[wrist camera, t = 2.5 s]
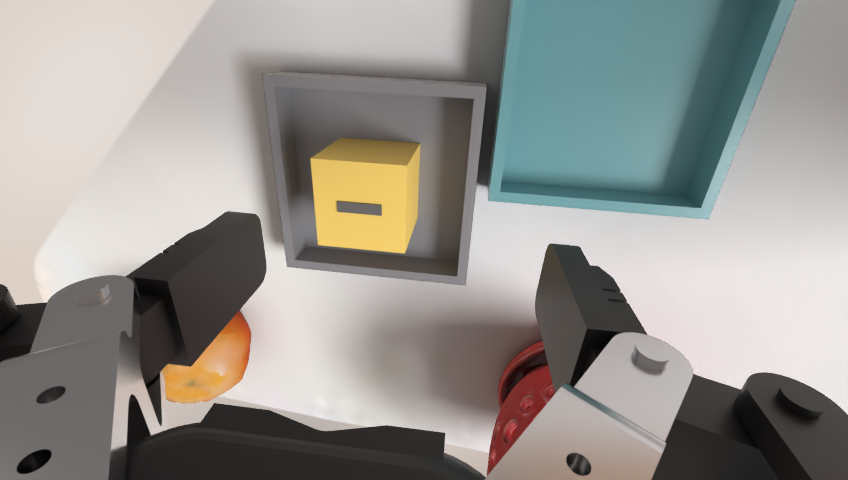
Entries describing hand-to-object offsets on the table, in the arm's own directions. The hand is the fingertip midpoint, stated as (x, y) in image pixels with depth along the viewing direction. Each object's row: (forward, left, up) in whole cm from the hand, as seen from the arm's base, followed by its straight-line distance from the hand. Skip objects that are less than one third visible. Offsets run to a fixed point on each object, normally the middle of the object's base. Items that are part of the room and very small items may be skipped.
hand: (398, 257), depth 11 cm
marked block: (+4, +3, -15) cm, 15 cm away
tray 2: (-9, -3, -15) cm, 18 cm away
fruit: (+18, +17, -15) cm, 29 cm away
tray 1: (+4, +3, -15) cm, 16 cm away
